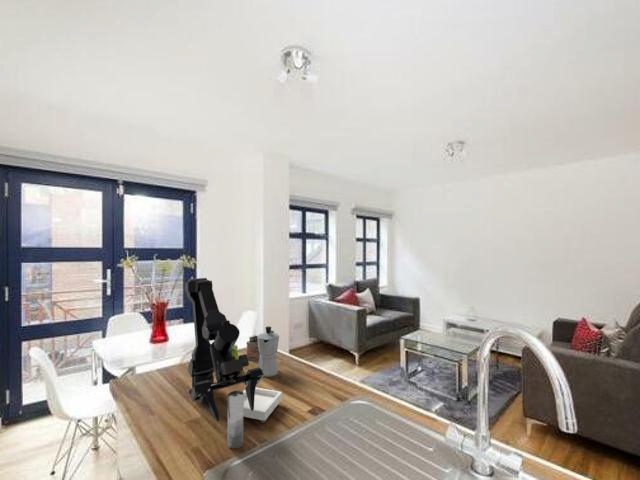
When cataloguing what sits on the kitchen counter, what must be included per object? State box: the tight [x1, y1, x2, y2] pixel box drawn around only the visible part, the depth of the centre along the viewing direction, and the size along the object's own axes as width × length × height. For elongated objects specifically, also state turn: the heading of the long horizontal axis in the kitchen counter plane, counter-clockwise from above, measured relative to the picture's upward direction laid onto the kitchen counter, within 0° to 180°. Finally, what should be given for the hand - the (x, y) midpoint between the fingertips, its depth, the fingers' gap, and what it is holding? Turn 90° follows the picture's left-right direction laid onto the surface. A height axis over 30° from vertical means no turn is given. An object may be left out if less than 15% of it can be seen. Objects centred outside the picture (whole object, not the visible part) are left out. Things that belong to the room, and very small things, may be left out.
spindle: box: [226, 390, 244, 450], centre depth 82 cm, size 4×4×13 cm
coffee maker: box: [256, 326, 280, 378], centre depth 125 cm, size 15×9×18 cm, turn 179°
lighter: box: [246, 334, 260, 361], centre depth 138 cm, size 8×3×10 cm, turn 117°
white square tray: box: [242, 387, 283, 424], centre depth 97 cm, size 12×12×4 cm
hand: (235, 415), depth 82 cm, fingers open, 9 cm apart
